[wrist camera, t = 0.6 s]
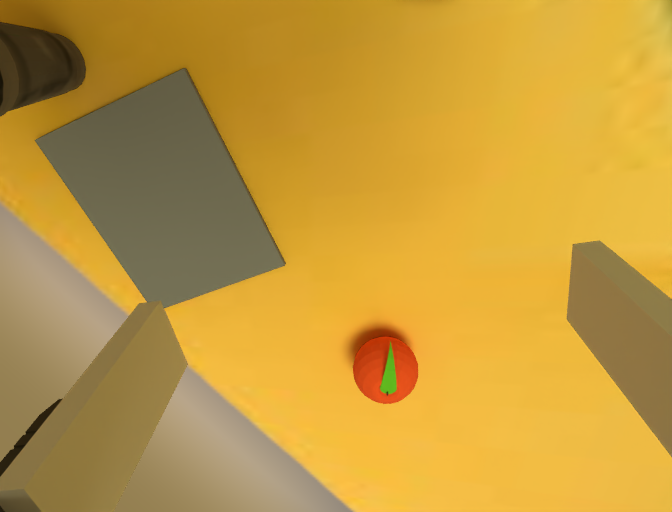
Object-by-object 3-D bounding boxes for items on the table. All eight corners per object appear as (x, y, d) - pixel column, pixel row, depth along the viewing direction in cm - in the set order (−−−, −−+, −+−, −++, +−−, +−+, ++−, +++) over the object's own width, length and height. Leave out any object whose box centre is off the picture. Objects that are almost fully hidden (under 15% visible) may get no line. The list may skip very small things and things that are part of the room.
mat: (38, 139, 39) (34, 140, 39) (185, 67, 36) (183, 68, 36) (155, 309, 47) (154, 311, 47) (285, 263, 44) (284, 265, 44)
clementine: (355, 313, 47) (355, 356, 40) (418, 317, 46) (429, 360, 40) (351, 370, 50) (350, 417, 44) (410, 374, 50) (418, 421, 44)
